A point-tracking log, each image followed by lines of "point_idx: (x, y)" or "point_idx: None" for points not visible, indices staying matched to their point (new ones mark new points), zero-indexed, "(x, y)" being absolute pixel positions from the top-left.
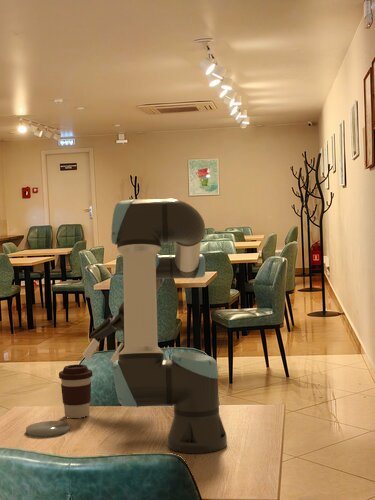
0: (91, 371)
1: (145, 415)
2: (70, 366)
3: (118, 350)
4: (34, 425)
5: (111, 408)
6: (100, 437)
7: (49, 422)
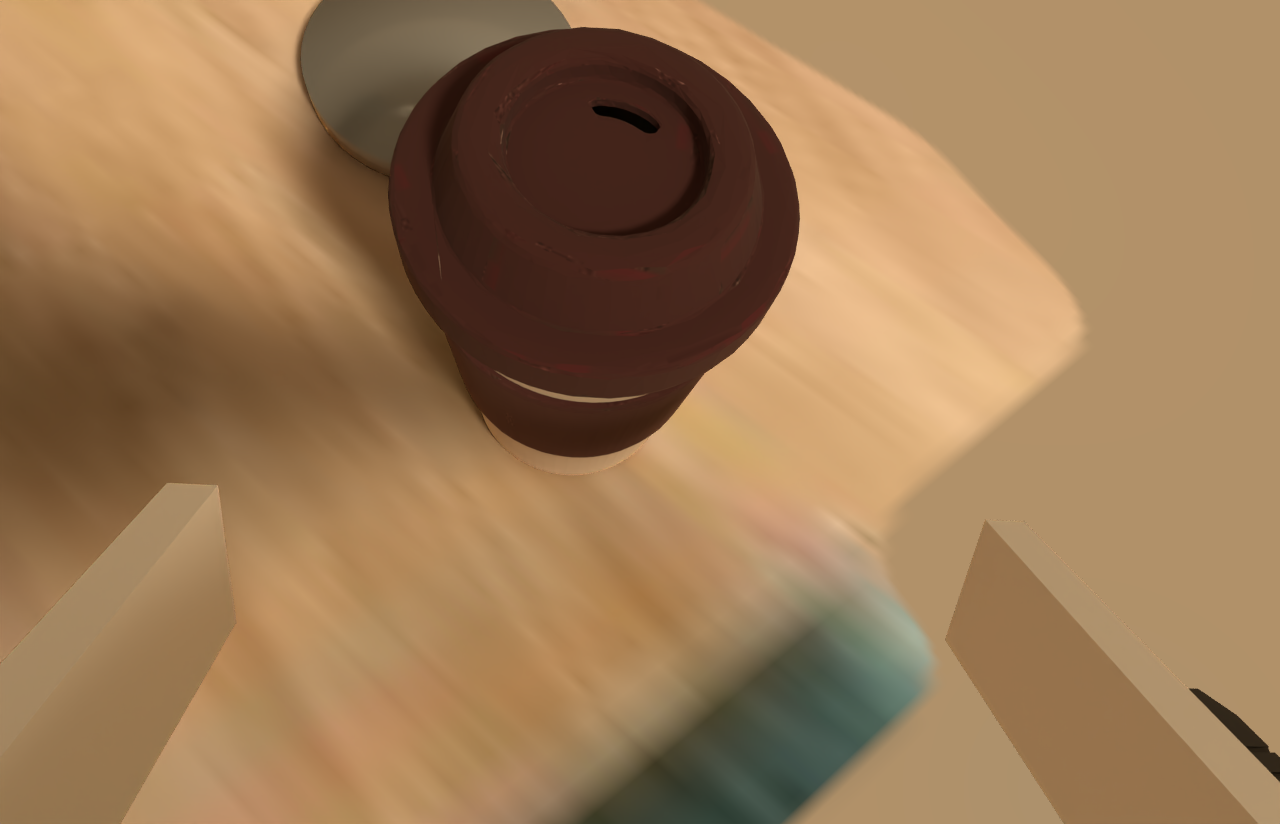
0: (433, 288)
1: None
2: (707, 153)
3: (21, 659)
4: None
5: (514, 719)
6: (24, 138)
7: None
